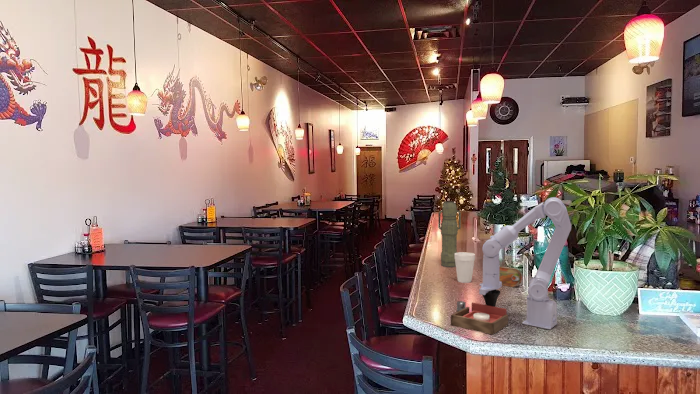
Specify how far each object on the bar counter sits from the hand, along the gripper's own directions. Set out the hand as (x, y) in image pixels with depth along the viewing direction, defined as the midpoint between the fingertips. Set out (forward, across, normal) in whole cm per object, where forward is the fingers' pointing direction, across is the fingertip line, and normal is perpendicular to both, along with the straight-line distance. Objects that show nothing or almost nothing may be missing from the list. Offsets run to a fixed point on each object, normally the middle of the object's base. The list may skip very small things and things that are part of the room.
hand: (490, 310), depth 173 cm
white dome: (+2, +8, 0) cm, 8 cm away
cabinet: (+3, +8, 0) cm, 9 cm away
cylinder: (+3, -1, -12) cm, 12 cm away
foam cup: (+3, -45, -33) cm, 56 cm away
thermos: (+3, -72, -56) cm, 91 cm away
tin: (+3, -50, -15) cm, 52 cm away
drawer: (+3, +8, 0) cm, 8 cm away
